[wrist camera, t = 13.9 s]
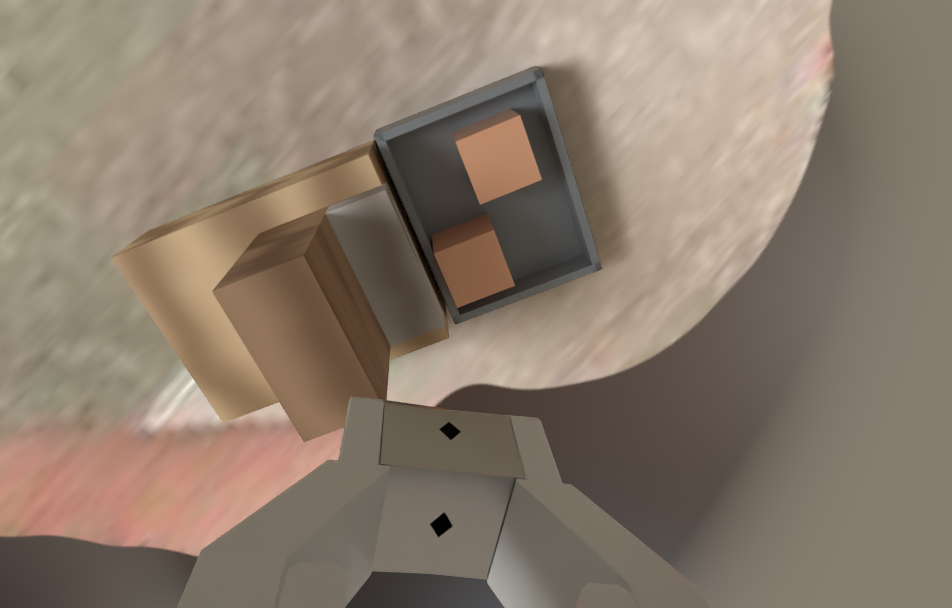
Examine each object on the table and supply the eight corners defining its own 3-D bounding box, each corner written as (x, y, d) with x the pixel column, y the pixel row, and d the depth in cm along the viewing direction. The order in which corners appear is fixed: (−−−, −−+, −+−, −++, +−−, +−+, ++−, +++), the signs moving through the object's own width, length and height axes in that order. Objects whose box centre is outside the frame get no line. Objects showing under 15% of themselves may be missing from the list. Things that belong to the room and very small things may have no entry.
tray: (453, 308, 49) (455, 324, 46) (376, 129, 43) (373, 135, 40) (591, 256, 49) (602, 268, 46) (533, 66, 42) (541, 68, 40)
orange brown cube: (457, 307, 44) (515, 285, 44) (433, 253, 42) (493, 229, 42) (453, 285, 48) (506, 264, 48) (431, 234, 46) (486, 213, 46)
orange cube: (541, 179, 41) (530, 167, 45) (520, 115, 39) (509, 108, 43) (479, 204, 41) (473, 189, 45) (455, 141, 39) (451, 132, 43)
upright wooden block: (327, 357, 43) (303, 442, 34) (258, 233, 39) (211, 291, 30) (443, 313, 43) (451, 387, 34) (386, 182, 39) (378, 226, 30)
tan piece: (243, 381, 50) (223, 423, 45) (148, 230, 44) (111, 257, 39) (445, 304, 49) (449, 337, 44) (373, 140, 43) (368, 154, 38)
